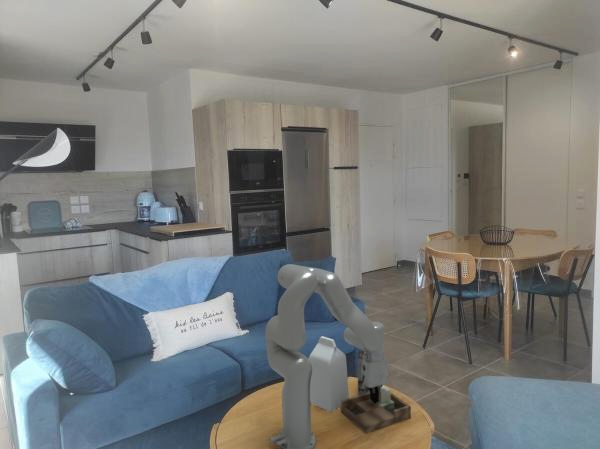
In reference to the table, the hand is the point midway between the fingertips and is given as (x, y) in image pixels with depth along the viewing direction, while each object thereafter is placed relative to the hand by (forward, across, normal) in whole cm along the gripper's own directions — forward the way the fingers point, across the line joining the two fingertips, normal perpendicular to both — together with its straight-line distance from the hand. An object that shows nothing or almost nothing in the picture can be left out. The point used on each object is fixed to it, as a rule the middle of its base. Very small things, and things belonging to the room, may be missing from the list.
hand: (374, 400), depth 170 cm
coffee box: (+3, +5, +12) cm, 13 cm away
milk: (+4, -12, +14) cm, 19 cm away
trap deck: (+3, -2, -4) cm, 5 cm away
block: (+1, +4, +1) cm, 5 cm away
